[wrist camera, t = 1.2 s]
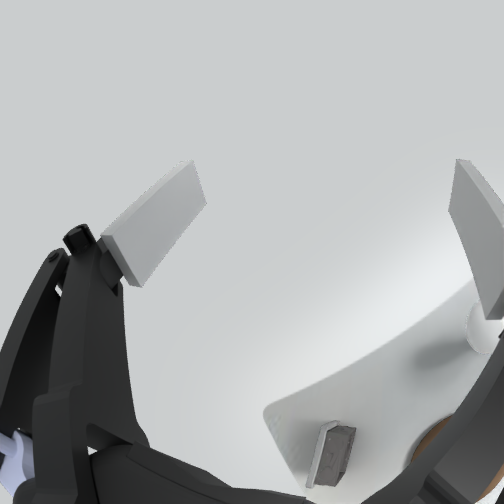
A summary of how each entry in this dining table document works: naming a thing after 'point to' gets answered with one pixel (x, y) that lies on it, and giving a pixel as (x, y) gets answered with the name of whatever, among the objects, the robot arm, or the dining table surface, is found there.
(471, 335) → the lightbulb
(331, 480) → the electrical switch
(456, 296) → the dining table surface
